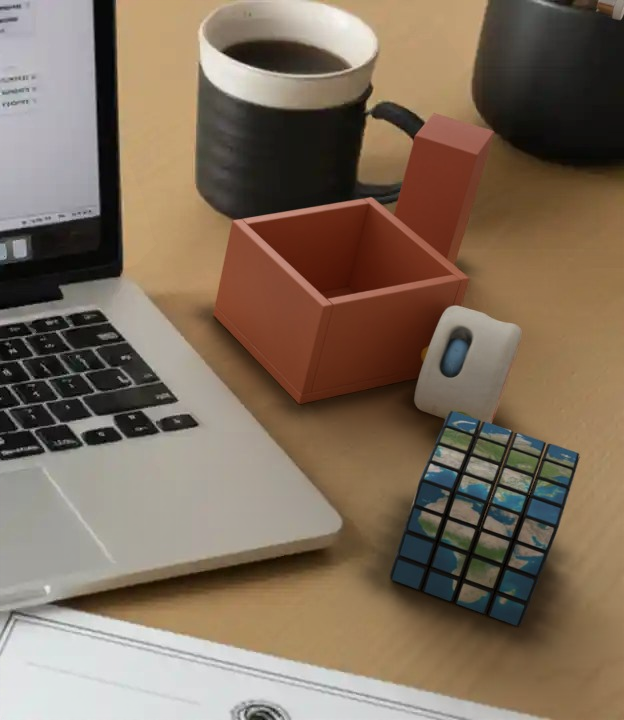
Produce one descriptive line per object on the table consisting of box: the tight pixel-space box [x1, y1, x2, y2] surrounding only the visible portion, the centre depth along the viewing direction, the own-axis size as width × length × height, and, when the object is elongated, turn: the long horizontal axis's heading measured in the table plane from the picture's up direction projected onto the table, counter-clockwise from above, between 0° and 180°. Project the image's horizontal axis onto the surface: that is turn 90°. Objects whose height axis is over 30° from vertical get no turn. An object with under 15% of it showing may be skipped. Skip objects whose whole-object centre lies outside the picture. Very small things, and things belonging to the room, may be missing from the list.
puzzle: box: [389, 411, 581, 627], centre depth 75 cm, size 6×6×6 cm
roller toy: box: [413, 305, 523, 431], centre depth 85 cm, size 4×6×6 cm
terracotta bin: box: [212, 196, 470, 405], centre depth 89 cm, size 9×9×6 cm
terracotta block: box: [393, 112, 495, 267], centre depth 96 cm, size 4×4×9 cm
